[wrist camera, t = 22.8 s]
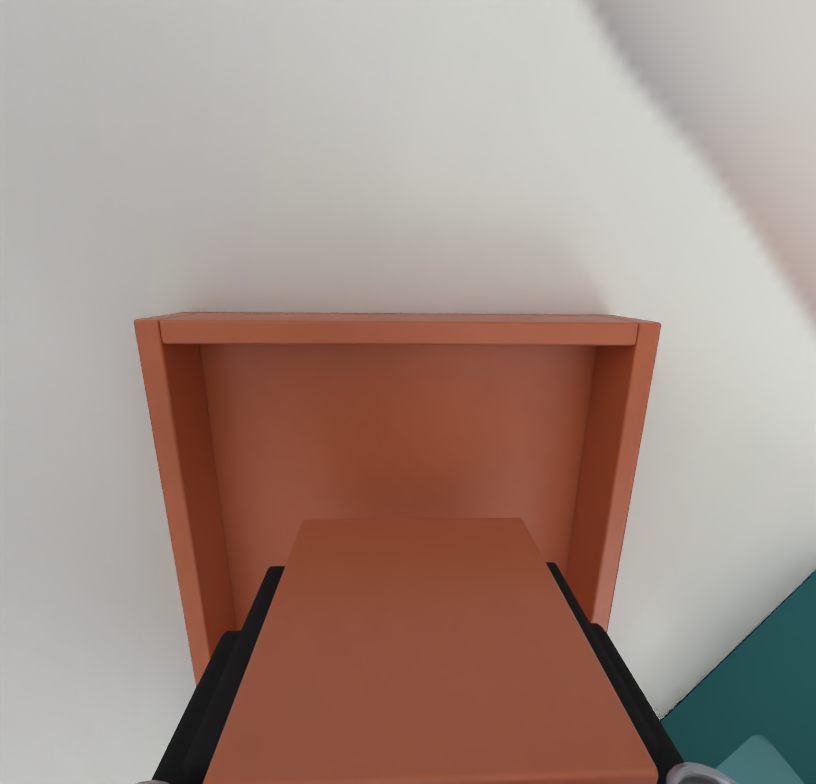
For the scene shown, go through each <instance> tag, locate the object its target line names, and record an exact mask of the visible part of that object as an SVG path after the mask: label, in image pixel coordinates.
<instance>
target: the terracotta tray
mask: <svg viewBox="0 0 816 784" xmlns="http://www.w3.org/2000/svg"><path fill="white" fill-rule="evenodd" d="M134 326H135V332H136V337H137V343H138V349H139V355H140V361H141V367H142V372H143V378H144V384H145V390H146V396H147V402H148V408H149V413H150V419H151V425H152V431H153V437H154V443H155V448H156V454H157V460H158V466H159V472H160V478H161V483H162V489H163V495H164V501H165V507H166V513H167V518H168V524H169V530H170V536H171V542H172V548H173V553H174V559H175V565H176V571H177V577H178V583H179V588H180V594H181V600H182V606H183V612H184V618H185V623H186V629H187V635H188V641H189V647H190V653H191V658H192V664H193V670H194V676H195V682H196V687H197V685H198V683H199V681H200V679H201V677H202V675H203V673H204V671H205V669H206V667H207V665H208V663H209V661H210V659H211V656H212V654H213V652H214V650H215V648H216V646H217V644H218V642H219V640H220V639H221V637H222V635H223V634H224V633H225V632H226V631H241V629H242V627H243V625H244V623H245V620H246V618H247V616H248V613H249V611H250V609H251V606H252V604H253V602H254V600H255V597H256V595H257V593H258V590H259V588H260V586H261V584H262V581H263V579H264V577H265V574H266V572H267V570H268V568H269V567H270V566H286V563H287V560H288V558H289V555H290V553H291V550H292V547H293V545H294V542H295V539H296V537H297V534H298V532H299V529H300V526H301V524H302V521H304V520H351V519H440V518H521V519H522V520H523V522H524V523H525V525H526V527H527V529H528V531H529V533H530V535H531V536H532V538H533V540H534V542H535V544H536V546H537V547H538V549H539V551H540V553H541V555H542V557H543V559H544V560H545V562H554V563H555V564H556V565H557V566H558V568H559V570H560V572H561V573H562V575H563V577H564V579H565V580H566V582H567V584H568V586H569V587H570V589H571V591H572V593H573V594H574V596H575V598H576V600H577V601H578V603H579V605H580V607H581V608H582V610H583V612H584V614H585V615H586V617H587V619H588V621H589V622H590V623H598V624H599V625H600V626H602V628H603V629H604V630H605V632H606V633H607V629H608V623H609V617H610V612H611V606H612V600H613V595H614V589H615V584H616V578H617V572H618V567H619V561H620V555H621V550H622V544H623V538H624V533H625V527H626V521H627V516H628V510H629V504H630V499H631V493H632V487H633V482H634V476H635V470H636V465H637V459H638V453H639V448H640V442H641V436H642V431H643V425H644V419H645V414H646V408H647V402H648V397H649V391H650V385H651V380H652V374H653V368H654V363H655V357H656V352H657V346H658V340H659V335H660V329H661V324H660V323H658V322H652V321H646V320H640V319H633V318H627V317H621V316H615V315H556V314H401V313H245V312H182V313H176V314H169V315H163V316H156V317H150V318H143V319H137V320H135V321H134Z"/></svg>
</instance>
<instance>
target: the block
mask: <svg viewBox="0 0 816 784" xmlns="http://www.w3.org/2000/svg"><path fill="white" fill-rule="evenodd" d="M657 780H658V771H657V768H656V766H655V764H654V762H653V760H652V758H651V756H650V755H649V753H648V751H647V749H646V747H645V745H644V743H643V742H642V740H641V738H640V736H639V734H638V732H637V730H636V729H635V727H634V725H633V723H632V721H631V719H630V718H629V716H628V714H627V712H626V710H625V708H624V706H623V705H622V703H621V701H620V699H619V697H618V695H617V694H616V692H615V690H614V688H613V686H612V684H611V682H610V681H609V679H608V677H607V675H606V673H605V671H604V669H603V668H602V666H601V664H600V662H599V660H598V658H597V657H596V655H595V653H594V651H593V649H592V647H591V645H590V644H589V642H588V640H587V638H586V636H585V634H584V633H583V631H582V629H581V627H580V625H579V623H578V621H577V620H576V618H575V616H574V614H573V612H572V610H571V608H570V607H569V605H568V603H567V601H566V599H565V597H564V596H563V594H562V592H561V590H560V588H559V586H558V584H557V583H556V581H555V579H554V577H553V575H552V573H551V571H550V570H549V568H548V566H547V564H546V562H545V560H544V559H543V557H542V555H541V553H540V551H539V549H538V547H537V546H536V544H535V542H534V540H533V538H532V536H531V535H530V533H529V531H528V529H527V527H526V525H525V523H524V522H523V520H522V519H521V518H440V519H351V520H304V521H302V524H301V526H300V529H299V532H298V534H297V537H296V539H295V542H294V545H293V547H292V550H291V553H290V555H289V558H288V560H287V563H286V566H285V568H284V571H283V574H282V576H281V579H280V582H279V584H278V587H277V589H276V592H275V595H274V597H273V600H272V603H271V605H270V608H269V610H268V613H267V616H266V618H265V621H264V624H263V626H262V629H261V631H260V634H259V637H258V639H257V642H256V645H255V647H254V650H253V653H252V655H251V658H250V660H249V663H248V666H247V668H246V671H245V674H244V676H243V679H242V681H241V684H240V687H239V689H238V692H237V695H236V697H235V700H234V702H233V705H232V708H231V710H230V713H229V716H228V718H227V721H226V724H225V726H224V729H223V731H222V734H221V737H220V739H219V742H218V745H217V747H216V750H215V752H214V755H213V758H212V760H211V763H210V766H209V768H208V771H207V774H206V776H205V779H204V781H203V784H657Z"/></svg>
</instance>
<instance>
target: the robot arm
mask: <svg viewBox="0 0 816 784" xmlns="http://www.w3.org/2000/svg"><path fill="white" fill-rule="evenodd" d="M546 564H547V566H548V568H549V570H550V571H551V573H552V575H553V577H554V579H555V581H556V583H557V584H558V586H559V588H560V590H561V592H562V594H563V596H564V597H565V599H566V601H567V603H568V605H569V607H570V608H571V610H572V612H573V614H574V616H575V618H576V620H577V621H578V623H579V625H580V627H581V629H582V631H583V633H584V634H585V636H586V638H587V640H588V642H589V644H590V645H591V647H592V649H593V651H594V653H595V655H596V657H597V658H598V660H599V662H600V664H601V666H602V668H603V669H604V671H605V673H606V675H607V677H608V679H609V681H610V682H611V684H612V686H613V688H614V690H615V692H616V694H617V695H618V697H619V699H620V701H621V703H622V705H623V706H624V708H625V710H626V712H627V714H628V716H629V718H630V719H631V721H632V723H633V725H634V727H635V729H636V730H637V732H638V734H639V736H640V738H641V740H642V742H643V743H644V745H645V747H646V749H647V751H648V753H649V755H650V756H651V758H652V760H653V762H654V764H655V766H656V768H657V771H658V780H657V784H738V783H737V782H736V781H734V780H733V779H731V778H729V777H728V776H726V775H725V774H723V773H721V772H720V771H718V770H716V769H714V768H711V767H708V766H706V765H703V764H700V763H691V762H684V760H683V759H682V757H681V755H680V754H679V752H678V750H677V749H676V747H675V745H674V744H673V742H672V741H671V739H670V737H669V736H668V734H667V732H666V731H665V729H664V727H663V726H662V724H661V722H660V721H659V719H658V717H657V716H656V714H655V712H654V711H653V709H652V707H651V706H650V704H649V702H648V701H647V699H646V697H645V696H644V694H643V693H642V691H641V689H640V688H639V686H638V684H637V683H636V681H635V679H634V678H633V676H632V674H631V673H630V671H629V669H628V668H627V666H626V664H625V663H624V661H623V659H622V658H621V656H620V654H619V653H618V651H617V649H616V648H615V646H614V645H613V643H612V641H611V640H610V638H609V636H608V635H607V633H606V632H605V630H604V629H603V628H602V626H600V625H599V624H598V623H590V622H589V621H588V619H587V617H586V615H585V614H584V612H583V610H582V608H581V607H580V605H579V603H578V601H577V600H576V598H575V596H574V594H573V593H572V591H571V589H570V587H569V586H568V584H567V582H566V580H565V579H564V577H563V575H562V573H561V572H560V570H559V568H558V566H557V565H556V564H555V563H554V562H546ZM284 568H285V566H270V567H269V568H268V570H267V572H266V574H265V577H264V579H263V581H262V584H261V586H260V588H259V590H258V593H257V595H256V597H255V600H254V602H253V604H252V606H251V609H250V611H249V613H248V616H247V618H246V620H245V623H244V625H243V627H242V629H241V631H226V632H225V633H224V634H223V635H222V637H221V639H220V640H219V642H218V644H217V646H216V648H215V650H214V652H213V654H212V656H211V659H210V661H209V663H208V665H207V667H206V669H205V671H204V673H203V675H202V677H201V679H200V681H199V683H198V685H197V687H196V689H195V691H194V694H193V696H192V698H191V700H190V702H189V704H188V706H187V708H186V710H185V712H184V714H183V716H182V718H181V720H180V722H179V724H178V727H177V729H176V731H175V733H174V735H173V737H172V739H171V741H170V743H169V745H168V747H167V749H166V751H165V753H164V755H163V757H162V759H161V762H160V764H159V766H158V768H157V770H156V772H155V774H154V776H153V778H152V780H151V781H145V782H139V783H137V784H203V781H204V779H205V776H206V774H207V771H208V768H209V766H210V763H211V760H212V758H213V755H214V752H215V750H216V747H217V745H218V742H219V739H220V737H221V734H222V731H223V729H224V726H225V724H226V721H227V718H228V716H229V713H230V710H231V708H232V705H233V702H234V700H235V697H236V695H237V692H238V689H239V687H240V684H241V681H242V679H243V676H244V674H245V671H246V668H247V666H248V663H249V660H250V658H251V655H252V653H253V650H254V647H255V645H256V642H257V639H258V637H259V634H260V631H261V629H262V626H263V624H264V621H265V618H266V616H267V613H268V610H269V608H270V605H271V603H272V600H273V597H274V595H275V592H276V589H277V587H278V584H279V582H280V579H281V576H282V574H283V571H284Z"/></svg>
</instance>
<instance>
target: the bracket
mask: <svg viewBox="0 0 816 784" xmlns="http://www.w3.org/2000/svg"><path fill="white" fill-rule="evenodd" d="M661 724H662V726H663V727H664V729H665V731H666V732H667V734H668V736H669V737H670V739H671V741H672V742H673V744H674V745H675V747H676V749H677V750H678V752H679V754H680V755H681V757H682V759H683V760H684V762H691V763H700V764H703V765H706V766H708V767H711V768H714V769H716V770H718V771H720V772H721V773H723V774H725V775H726V776H728V777H729V778H731V779H733V780H734V781H736V782H737V783H738V784H816V572H814V573H813V574H812V575H811V576H810V577H809V578H808V579H807V580H806V581H805V582H804V583H803V584H802V585H801V586H800V587H799V588H798V589H797V590H796V591H795V592H794V593H793V594H792V595H791V596H790V597H789V598H788V599H787V600H786V601H785V602H784V603H783V604H781V605H780V606H779V607H778V608H777V609H776V610H775V611H774V612H773V613H772V614H771V615H770V616H769V617H768V618H767V619H766V620H765V621H764V622H763V623H762V624H761V625H760V626H759V627H758V628H757V629H756V630H755V631H754V632H753V633H752V634H751V635H750V636H749V637H747V638H746V639H745V640H744V641H743V642H742V643H741V644H740V645H739V646H738V647H737V648H736V649H735V650H734V651H733V652H732V653H731V654H730V655H729V656H728V657H727V658H726V659H725V660H724V661H723V662H722V663H721V664H720V665H719V666H718V667H717V668H716V669H714V670H713V671H712V672H711V673H710V674H709V675H708V676H707V677H706V678H705V679H704V680H703V681H702V682H701V683H700V684H699V685H698V686H697V687H696V688H695V689H694V690H693V691H692V692H691V693H690V694H689V695H688V696H687V697H686V698H685V699H684V700H683V701H682V702H680V703H679V704H678V705H677V706H676V707H675V708H674V709H673V710H672V711H671V712H670V713H669V714H668V715H667V716H666V717H665V718H664V719H663V720H662V721H661Z"/></svg>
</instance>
